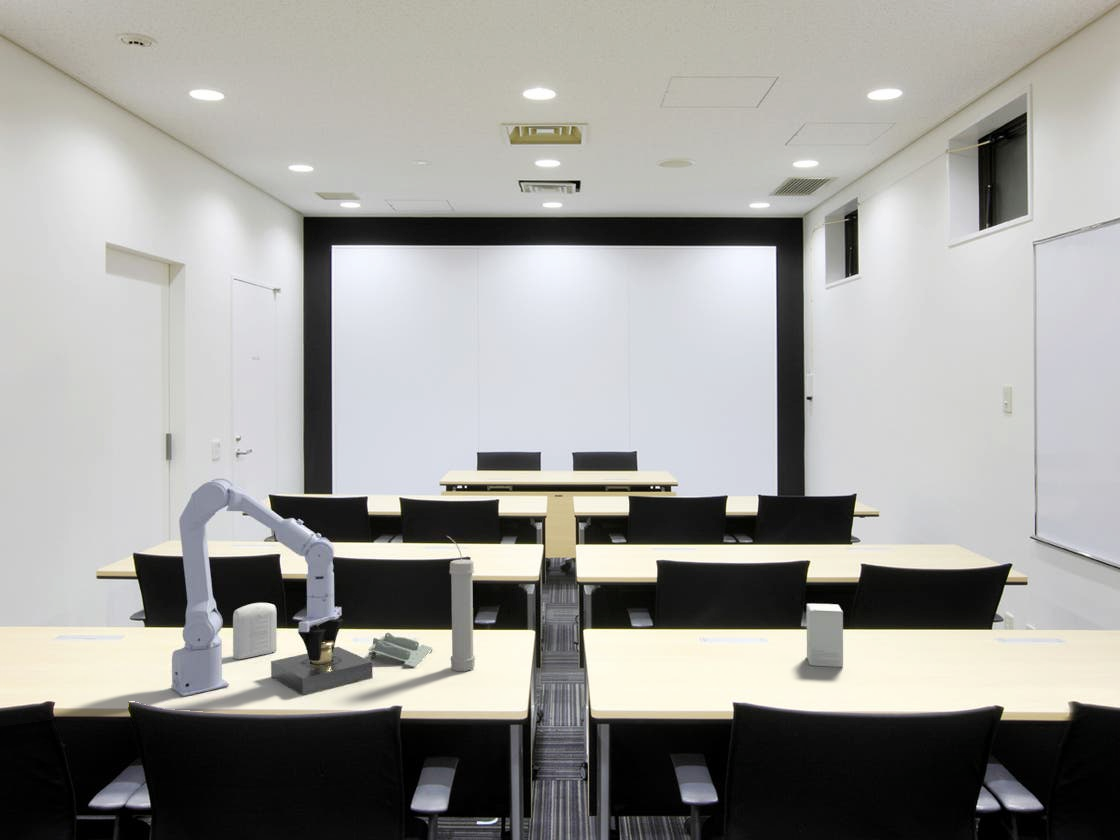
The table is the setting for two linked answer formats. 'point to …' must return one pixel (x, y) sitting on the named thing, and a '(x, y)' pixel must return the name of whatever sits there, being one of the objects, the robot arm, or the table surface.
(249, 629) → the white rounded block
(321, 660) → the round door knob
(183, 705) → the table surface
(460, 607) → the pipe
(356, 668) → the grey flat block
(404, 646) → the metal bracket
